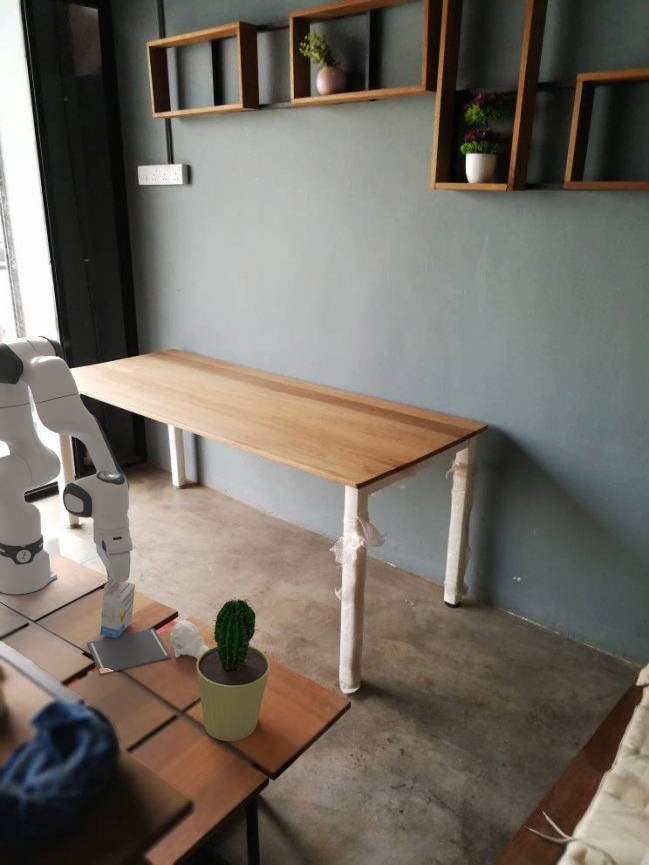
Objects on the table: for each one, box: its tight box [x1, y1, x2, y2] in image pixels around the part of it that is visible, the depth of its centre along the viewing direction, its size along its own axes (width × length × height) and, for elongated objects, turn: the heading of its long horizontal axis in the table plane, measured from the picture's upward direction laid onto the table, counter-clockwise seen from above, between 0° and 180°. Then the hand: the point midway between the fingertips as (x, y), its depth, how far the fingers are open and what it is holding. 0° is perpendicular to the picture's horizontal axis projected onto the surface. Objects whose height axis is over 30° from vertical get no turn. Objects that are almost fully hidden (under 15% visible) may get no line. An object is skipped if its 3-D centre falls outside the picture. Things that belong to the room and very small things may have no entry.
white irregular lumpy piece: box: [169, 619, 211, 660], centre depth 170 cm, size 6×8×12 cm
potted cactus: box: [196, 597, 271, 742], centre depth 145 cm, size 15×15×30 cm
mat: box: [86, 627, 172, 673], centre depth 172 cm, size 14×17×1 cm
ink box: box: [99, 578, 136, 639], centre depth 177 cm, size 8×5×15 cm, turn 169°
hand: (112, 582), depth 181 cm, fingers closed
